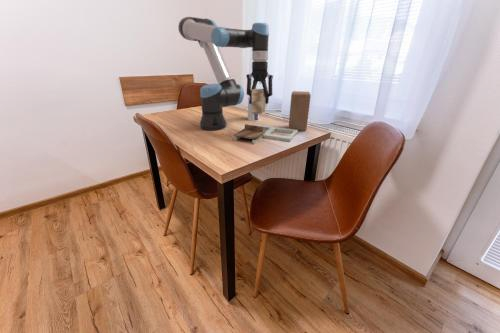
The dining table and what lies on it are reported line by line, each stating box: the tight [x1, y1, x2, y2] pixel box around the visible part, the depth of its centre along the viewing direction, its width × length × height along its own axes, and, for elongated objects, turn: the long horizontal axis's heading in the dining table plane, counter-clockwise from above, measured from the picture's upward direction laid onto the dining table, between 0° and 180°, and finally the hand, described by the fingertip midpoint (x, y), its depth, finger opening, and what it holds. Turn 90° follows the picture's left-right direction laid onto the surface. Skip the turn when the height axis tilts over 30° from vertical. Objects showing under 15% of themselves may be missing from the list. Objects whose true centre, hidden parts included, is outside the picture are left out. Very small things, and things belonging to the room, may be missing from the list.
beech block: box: [252, 87, 267, 116], centre depth 114 cm, size 6×6×12 cm
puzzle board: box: [233, 123, 299, 145], centre depth 114 cm, size 27×26×2 cm
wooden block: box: [288, 90, 311, 132], centre depth 123 cm, size 10×10×20 cm
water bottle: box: [247, 82, 262, 121], centre depth 141 cm, size 8×9×25 cm
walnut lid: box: [233, 123, 265, 140], centre depth 110 cm, size 12×12×3 cm
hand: (259, 109), depth 116 cm, fingers closed on beech block, 6 cm apart
